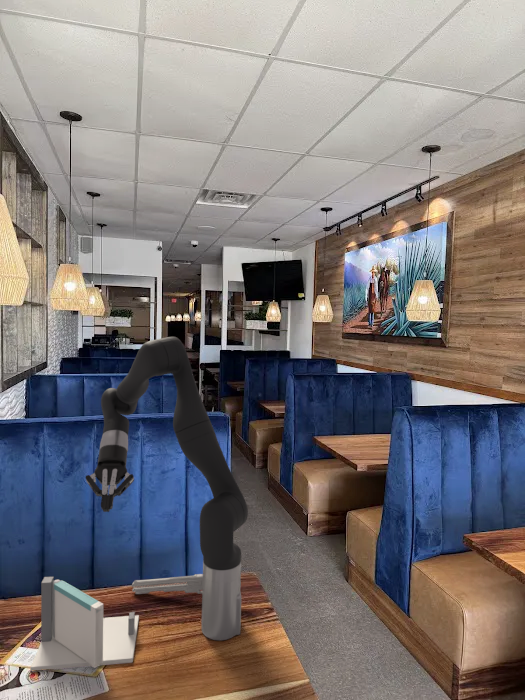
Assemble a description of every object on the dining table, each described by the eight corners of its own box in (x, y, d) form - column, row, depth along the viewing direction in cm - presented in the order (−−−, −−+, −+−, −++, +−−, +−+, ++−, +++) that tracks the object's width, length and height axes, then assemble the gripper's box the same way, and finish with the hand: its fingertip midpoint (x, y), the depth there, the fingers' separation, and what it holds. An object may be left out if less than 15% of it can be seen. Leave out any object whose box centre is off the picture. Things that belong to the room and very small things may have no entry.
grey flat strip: (242, 601, 125) (237, 573, 124) (134, 609, 128) (130, 582, 128) (243, 597, 126) (238, 569, 126) (137, 605, 130) (132, 578, 130)
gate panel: (102, 662, 101) (103, 603, 100) (94, 668, 99) (95, 608, 98) (58, 632, 110) (59, 578, 109) (50, 637, 108) (51, 582, 107)
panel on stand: (138, 619, 118) (139, 561, 117) (132, 662, 103) (133, 596, 102) (50, 625, 114) (50, 566, 113) (30, 671, 100) (30, 603, 99)
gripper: (87, 443, 128) (76, 505, 116) (137, 443, 130) (131, 503, 119) (90, 457, 133) (81, 517, 122) (138, 456, 135) (133, 515, 124)
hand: (106, 510), depth 120 cm, fingers closed
